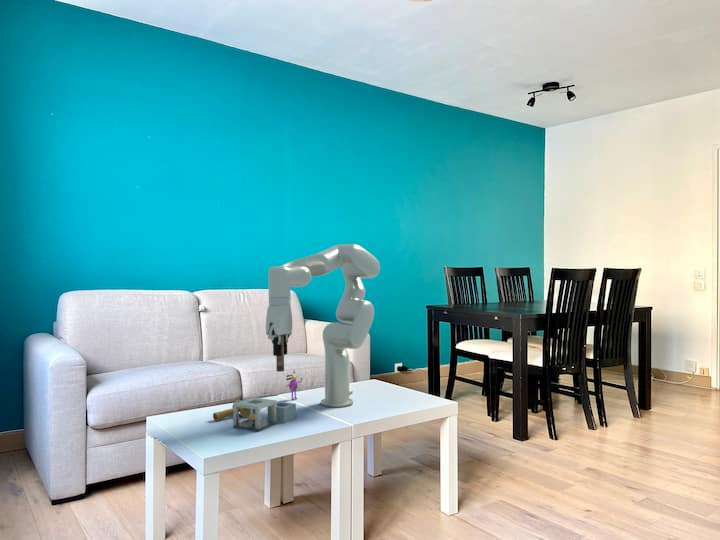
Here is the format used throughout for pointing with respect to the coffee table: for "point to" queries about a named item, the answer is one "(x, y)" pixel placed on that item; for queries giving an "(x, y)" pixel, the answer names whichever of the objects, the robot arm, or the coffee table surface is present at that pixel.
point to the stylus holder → (283, 412)
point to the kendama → (231, 412)
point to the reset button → (252, 417)
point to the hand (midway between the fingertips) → (280, 354)
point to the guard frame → (255, 409)
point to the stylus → (280, 357)
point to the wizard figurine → (293, 383)
